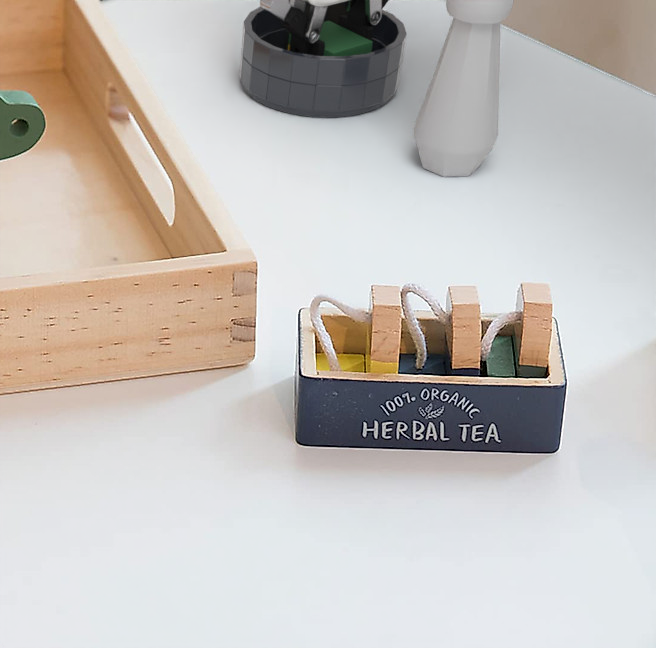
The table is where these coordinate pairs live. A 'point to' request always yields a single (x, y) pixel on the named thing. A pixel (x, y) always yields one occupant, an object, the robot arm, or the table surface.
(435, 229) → the table surface
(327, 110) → the bowl
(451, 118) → the salt shaker
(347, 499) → the table surface
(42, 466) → the table surface
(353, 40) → the sponge
